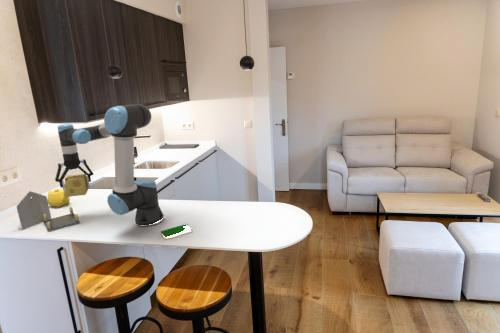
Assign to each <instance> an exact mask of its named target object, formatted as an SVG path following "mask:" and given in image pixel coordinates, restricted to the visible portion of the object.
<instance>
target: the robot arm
mask: <svg viewBox="0 0 500 333" xmlns="http://www.w3.org/2000/svg"><path fill="white" fill-rule="evenodd" d="M151 121H152V113H151V111H150V109H149V108H148V107H147V106H146V105H145V104H141V103H135V104H134V103H133V104H125V105H116V106H112V107H110V108H109V109H107V111H106V112H105V114H104V121H103V123H101V124H97V125H94V126H88V127H82V128H75V127H74V125H73V124H71V123H64V124H59V125H58V126H57V134H58V137H59V141H60V142H59V143H60V146H61V151H62V152H61V153H62V157H63V163H62V162H61V163H57V170H56V174H55V178H54V181H55V183H56V182H57V183H59V187H60V188H62V190H63V191H64V193H65V187H64V184H65V178H66V176H67V173H68V172H69V171H71V170H77V169H79V170H80V171H81V172H82V173H83V174H86V180H87V186H88V189H91V185H90V184H91V182H92V178H91V176H93V175H94V173H93V170H91V168H90V167H89V165H88V164H87V161H86V159H80V157H79V152H78V145H86V144H88V143H89V142H92V141H97V140H98V141H99V140H103V139H107V138H110V137H112V138H113V139H114V140H113V141H114V144H113V145H114V174H115V176H114V177H115V181H114V182H115V184H114V185H113V186H112V188H111V190H112V193H110V194H109V195H108V196H107V198H106V199H107V200H106V201H107V204H108V207H109V208H110V210H111V211H112V212H113V213H114V214H116V215H118V216H122V215H123V216H124V215H125V214H128V213H130V212H133V211H135V210H136V211H135V217H134V222H135V225H136V224H138V225H149V224H153V223H155V222H157V221H159V220H161V219H162V218H163V216H164V213H163V211H162V209H161V207H160V203H159V198H158V197H159V196H158V187H157V183H156V181H155V180H153V179H136V180H135V165H134V164H135V163H134V162H135V154H134V153H135V150H134V149H135V147H134V145H135V144H134V139H135V138H136V137H137V135H138V129H143V128H145V127H147V126H148V125H149V124H150V123H151ZM80 164H83V166H84V167H85V168H86V169H87V171H86V170H85V169H84V168H83V167H81V166H80ZM63 167H65V168H64V170H63V172H62V173H61V171H62V168H63ZM88 172H89V173H88ZM60 175H61V176H60ZM138 225H137V226H138Z"/></svg>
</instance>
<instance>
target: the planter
mask: <svg viewBox="0 0 500 333" xmlns="http://www.w3.org/2000/svg"><path fill="white" fill-rule="evenodd" d="M16 211H17V214H18V218H19V223H20V227H21V230H22V231H23V230H26V229H28V228H32V227H33V226H35V225H36V226H37V225H38V224H40V223H44V219H43V215H42V214H46V217H47V220H48V219H52V216H51V215H52V214H51V211H50V205H49V204H48V196H46V195H44V194H40V193H37V192H34V191H30V190H29V191H28V192H27V193H26V195H24V197H23V198H22V199H21V200H20V202H19V203H18V204H17V205H16Z"/></svg>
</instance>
